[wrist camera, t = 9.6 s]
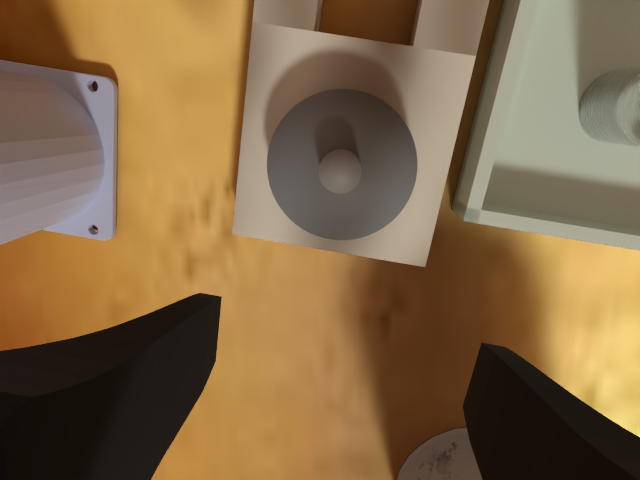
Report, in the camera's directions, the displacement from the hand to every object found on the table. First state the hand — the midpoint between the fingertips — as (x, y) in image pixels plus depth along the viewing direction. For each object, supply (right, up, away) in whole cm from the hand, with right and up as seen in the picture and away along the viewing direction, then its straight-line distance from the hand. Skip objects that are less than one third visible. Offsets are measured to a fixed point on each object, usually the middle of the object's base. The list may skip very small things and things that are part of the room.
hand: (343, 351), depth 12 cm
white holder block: (+1, +11, +8) cm, 13 cm away
